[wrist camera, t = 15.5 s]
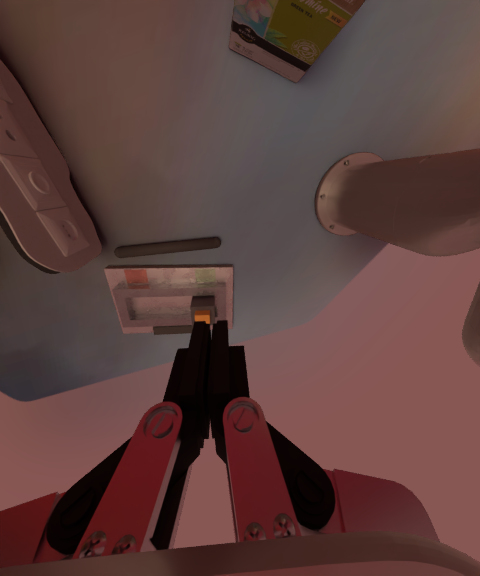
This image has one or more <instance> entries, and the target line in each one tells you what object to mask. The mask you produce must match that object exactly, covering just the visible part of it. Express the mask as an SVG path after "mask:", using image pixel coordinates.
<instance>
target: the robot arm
mask: <svg viewBox="0 0 480 576" xmlns="http://www.w3.org/2000/svg"><path fill="white" fill-rule="evenodd" d="M344 163H345V164H344ZM321 195H322V196H321ZM320 196H321V198H320ZM315 210H316V215H317V218H318V220H319V222H320V224H321V225H322V226H323V227H324V228H325V229H326V230H328V231H329V232H331V233H334V234H337V235H352V234H356V233H358V232H359V233H362V234H365V235H368V236H371V237H373V238H376V239H379V240H382V241H385V242H388V243H390V244H393V245H396V246H399V247H402V248H405V249H408V250H411V251H414V252H417V253H420V254H424V255H428V256H450V255H457V254H461V253H465V252H469V251H472V250H475V249H478V248H480V149H473V150H465V151H457V152H452V153H444V154H436V155H428V156H420V157H412V158H404V159H397V160H389V161H384V160H383V159H382V158H380V157H379V156H377V155H375V154H373V153H368V152H360V153H354V154H351V155H348V156H346V157H343V158H342V159H340V160H339V161H337V162H336V163H335V164H334V165H333V166H332V167H331V168H330V169H329V170H328V171H327V172H326V174H325V175H324V177H323V178H322V180H321V182H320V184H319V187H318V189H317V193H316V198H315ZM330 225H331V226H330ZM462 340H463V344H464V347H465V350H466V351H467V353H468V354H469V356H470V357H471V358H472V360H474V362H475V363H476V364H477V365H479V366H480V282H479V285H478V288H477V290H476V293H475V296H474V298H473V301H472V303H471V306H470V308H469V311H468V314H467V316H466V319H465V322H464V326H463V330H462ZM210 422H211V431H212V438H215V445H216V453H217V455H218V456H219V457H220V458H221V459H222V460H223V461H224V463H225V464H226V470H227V478H228V486H229V494H230V501H231V510H232V518H233V525H234V533H235V541H236V543H225V544H216V545H206V546H196V547H187V548H176V549H173V545H174V542H175V537H176V533H177V529H178V525H179V520H180V516H181V512H182V508H183V503H184V499H185V495H186V491H187V486H188V482H189V478H190V474H191V469H192V463H193V462H194V460H195V459H196V458H197V457H198V456H199V455H200V448H203V445H204V439H208V438H209V427H210V426H209V425H210ZM0 576H480V562H478V561H477V560H475V559H473V558H472V557H470V556H468V555H467V554H465V553H463V552H460V551H458V550H456V549H454V548H452V547H450V546H448V545H446V544H443V543H440V541H439V539H438V536H437V534H436V532H435V529H434V527H433V525H432V523H431V520H430V518H429V516H428V514H427V512H426V510H425V508H424V507H423V505H422V503H421V502H420V501H419V499H418V498H417V497H416V496H415V495H414V494H413V492H411V491H410V490H408V489H407V488H406V487H405V486H403V485H402V484H399V483H397V482H394V481H390V480H386V479H380V478H376V477H371V476H367V475H362V474H357V473H352V472H347V471H343V470H337V469H334V470H333V471H330V470H326V469H322V468H321V467H320V466H319V465H318V464H317V463H316V462H314V461H313V460H312V459H311V458H310V457H308V456H307V455H306V454H305V453H304V452H303V451H301V450H300V449H299V448H298V447H297V446H295V445H294V444H293V443H292V442H291V441H289V440H288V439H287V438H286V437H285V436H283V435H282V434H281V433H280V432H278V431H277V430H276V429H275V428H274V427H273V426H271V425H270V424H269V423H268V422H267V421H266V420H265V417H264V414H263V411H262V409H261V407H260V405H259V404H258V403H257V402H255V401H254V400H253V399H251V398H250V396H249V387H248V379H247V370H246V362H245V352H244V346H229V343H228V320H217V323H213V328H212V340H211V330H210V324H206V321H195V322H194V325H193V330H192V334H191V339H190V343H189V348H182V349H178V350H177V353H176V356H175V360H174V363H173V367H172V371H171V374H170V378H169V382H168V385H167V388H166V392H165V395H164V399H163V402H161V403H158V404H156V405H154V406H153V407H151V408H150V409H149V410H148V411H147V412H146V413H145V414H144V415H143V417H142V419H141V420H140V422H139V424H138V426H137V428H136V430H135V433H134V434H133V436H132V437H131V438H130V439H129V440H127V441H126V442H125V443H124V444H123V445H121V446H120V447H119V448H118V449H117V450H115V451H114V452H113V453H112V454H110V455H109V456H108V457H107V458H106V459H104V460H103V461H102V462H101V463H100V464H98V465H97V466H96V467H95V468H94V469H92V470H91V471H90V472H89V473H88V474H86V475H85V476H84V477H83V478H81V479H80V480H79V481H78V482H77V483H75V484H74V485H73V486H72V487H71V488H70V489H69V490H68V491H67V492H64V493H61V494H59V493H58V492H55V493H52V494H49V495H46V496H43V497H40V498H37V499H34V500H32V501H29V502H26V503H23V504H20V505H17V506H14V507H11V508H8V509H5V510H2V511H0Z"/></svg>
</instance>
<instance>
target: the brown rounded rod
mask: <svg viewBox="0 0 480 576" xmlns="http://www.w3.org/2000/svg"><path fill="white" fill-rule="evenodd" d="M220 244H221V241H220V239H219V238H216V237H214V238H204V239H194V240H185V241H175V242H165V243H155V244H145V245H135V246H126V247H118V248H116V249H115V251H114V253H115V255H116V256H117V257H119V258H126V257H135V256H145V255H155V254H164V253H174V252H183V251H193V250H202V249H212V248H218V247H219V246H220Z"/></svg>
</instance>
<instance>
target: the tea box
mask: <svg viewBox="0 0 480 576" xmlns="http://www.w3.org/2000/svg"><path fill="white" fill-rule="evenodd" d="M364 2H365V0H235V2H234V9H233V17H232V25H231V32H230V41H229V48H230V49H232V50H234V51H236V52H237V53H239V54H242V55H244V56H246V57H248V58H250V59H252V60H254V61H255V62H257V63H259V64H261V65H263V66H264V67H266V68H268V69H270V70H272V71H274V72H276V73H278V74H280V75H281V76H283V77H285V78H287V79H289V80H291V81H293V82H295V83H296V82H298V81H299V80H300V79H301V77H302V76H303V75H304V74H305V73H306V72H307V70H308V69H309V68H310V66H311V65H312V64H313V63H314V62H315V61H316V60H317V58H318V57H319V56H320V55H321V53H322V52H323V51H324V50H325V48H326V47H327V46H328V45H329V44H330V43H331V42H332V40H333V39H334V38H335V37H336V35H337V34H338V33H339V32H340V30H341V29H342V28H343V27H344V26H345V25H346V24H347V23H348V21H349V20H350V19H351V18H352V17H353V15H354V14H355V13H356V12H357V10H358V9H359V8H360V7H361V5H362V4H363V3H364Z"/></svg>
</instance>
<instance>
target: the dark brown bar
mask: <svg viewBox="0 0 480 576" xmlns="http://www.w3.org/2000/svg"><path fill="white" fill-rule="evenodd" d="M192 330H193V326H192V325H184V326H159V327H153V331H154V335H159V334H182V333H192Z"/></svg>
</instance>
